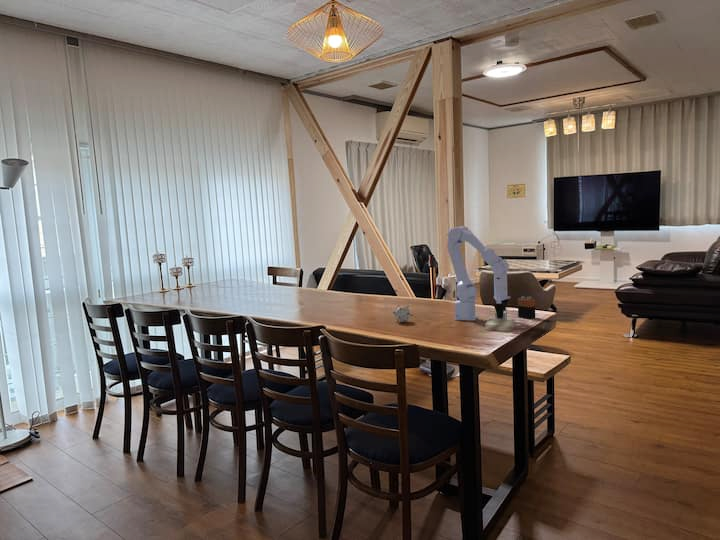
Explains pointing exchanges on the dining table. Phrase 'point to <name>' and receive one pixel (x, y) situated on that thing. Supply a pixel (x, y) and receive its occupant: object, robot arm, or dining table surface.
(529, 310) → the battery
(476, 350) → the dining table surface
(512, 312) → the dining table surface
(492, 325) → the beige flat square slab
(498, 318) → the mint block
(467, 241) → the robot arm
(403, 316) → the grey spiky ball
